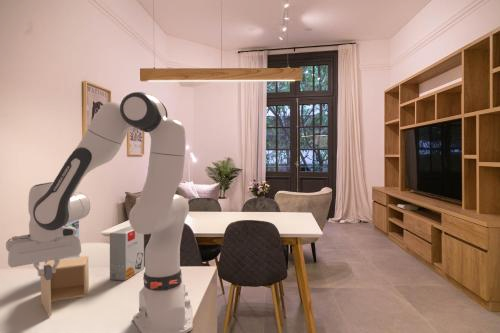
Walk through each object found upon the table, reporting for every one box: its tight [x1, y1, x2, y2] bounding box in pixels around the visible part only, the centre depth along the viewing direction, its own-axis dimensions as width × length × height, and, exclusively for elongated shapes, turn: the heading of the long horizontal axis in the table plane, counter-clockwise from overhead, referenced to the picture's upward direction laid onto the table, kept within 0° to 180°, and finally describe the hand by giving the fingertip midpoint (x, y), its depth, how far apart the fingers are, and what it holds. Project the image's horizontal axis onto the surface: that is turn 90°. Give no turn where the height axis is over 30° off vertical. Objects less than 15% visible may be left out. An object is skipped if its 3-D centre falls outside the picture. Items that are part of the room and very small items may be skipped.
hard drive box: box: [109, 225, 145, 281], centre depth 143 cm, size 16×8×20 cm, turn 168°
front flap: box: [40, 264, 52, 317], centre depth 110 cm, size 2×13×16 cm, turn 42°
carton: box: [41, 255, 90, 302], centre depth 123 cm, size 11×14×12 cm
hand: (47, 274), depth 106 cm, fingers closed
